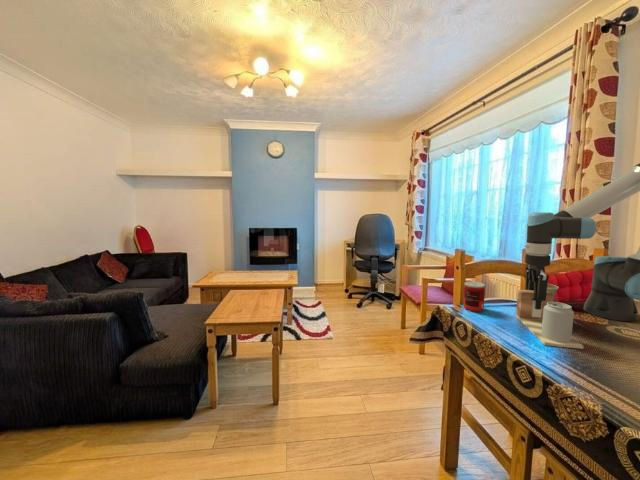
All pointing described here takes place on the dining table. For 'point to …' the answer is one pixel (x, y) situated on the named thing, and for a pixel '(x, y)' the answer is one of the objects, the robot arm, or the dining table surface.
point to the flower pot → (552, 289)
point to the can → (557, 322)
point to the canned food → (474, 296)
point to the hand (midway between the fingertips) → (533, 314)
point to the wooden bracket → (537, 318)
